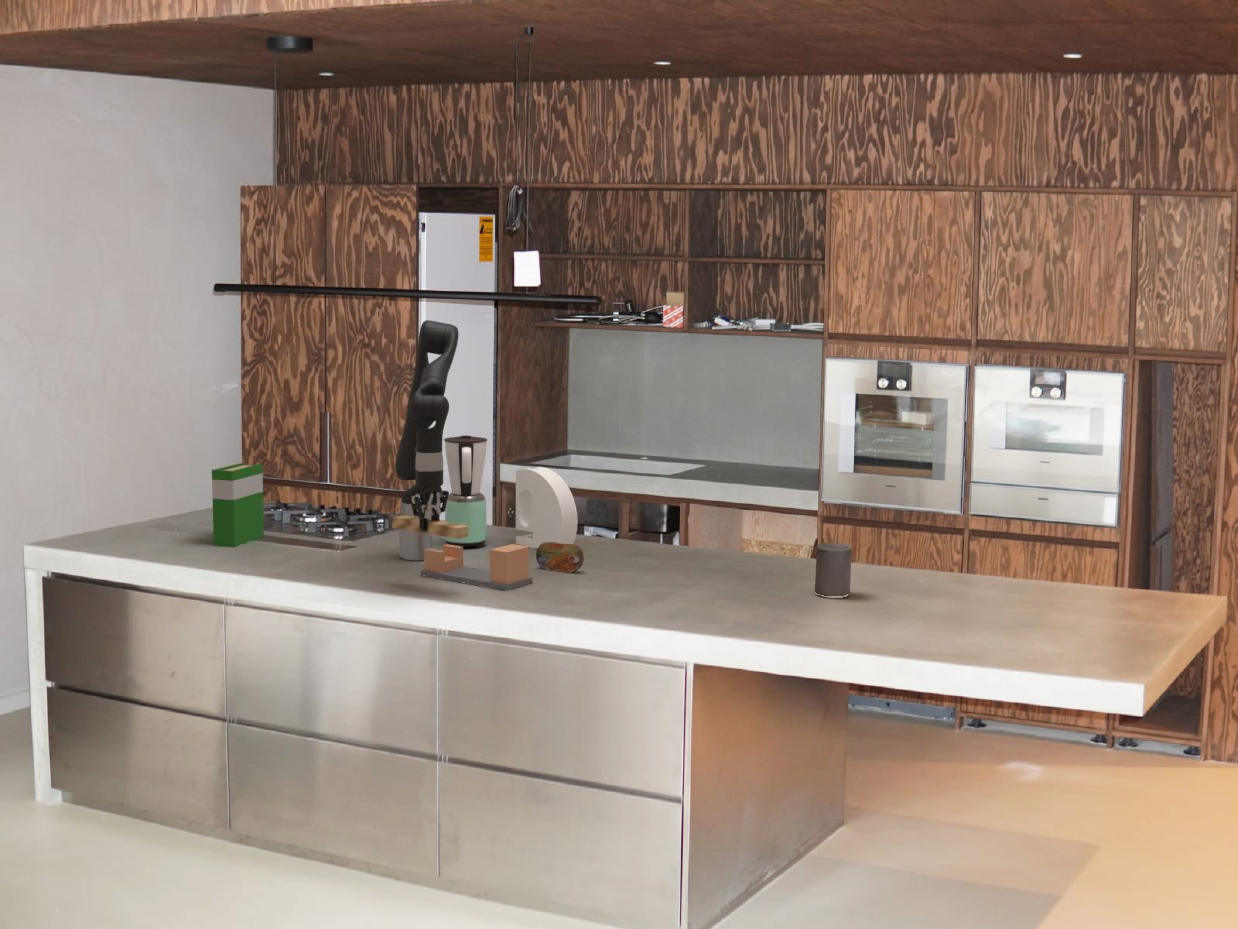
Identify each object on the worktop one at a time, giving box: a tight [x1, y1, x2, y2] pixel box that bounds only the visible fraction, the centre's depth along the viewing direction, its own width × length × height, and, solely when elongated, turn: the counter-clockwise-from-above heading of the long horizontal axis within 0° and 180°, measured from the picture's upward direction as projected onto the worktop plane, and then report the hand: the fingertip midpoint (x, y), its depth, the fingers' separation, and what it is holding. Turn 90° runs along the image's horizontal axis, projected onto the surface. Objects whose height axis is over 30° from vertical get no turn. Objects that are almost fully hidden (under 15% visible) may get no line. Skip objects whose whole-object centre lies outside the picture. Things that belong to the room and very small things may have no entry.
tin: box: [535, 542, 585, 574], centre depth 413 cm, size 15×3×8 cm, turn 62°
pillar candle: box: [814, 541, 853, 596], centre depth 386 cm, size 10×10×15 cm
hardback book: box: [211, 462, 265, 548], centre depth 448 cm, size 18×7×24 cm, turn 164°
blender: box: [443, 435, 488, 549], centre depth 444 cm, size 19×13×35 cm
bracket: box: [515, 466, 578, 549], centre depth 444 cm, size 7×21×25 cm, turn 48°
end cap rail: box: [420, 543, 533, 591], centre depth 399 cm, size 31×12×10 cm, turn 56°
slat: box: [391, 514, 468, 539], centre depth 386 cm, size 24×4×3 cm, turn 56°
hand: (429, 529), depth 386 cm, fingers closed on slat, 4 cm apart
